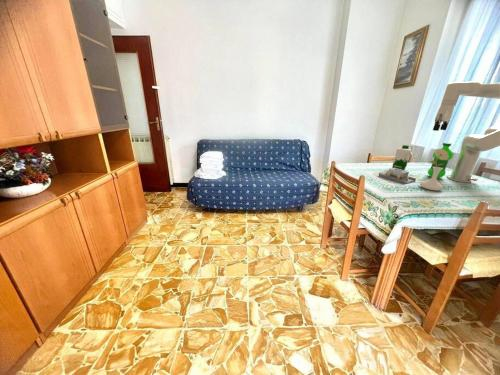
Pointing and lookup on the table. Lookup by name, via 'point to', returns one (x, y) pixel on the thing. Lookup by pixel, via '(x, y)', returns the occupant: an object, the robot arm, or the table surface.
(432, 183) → the flower in vase
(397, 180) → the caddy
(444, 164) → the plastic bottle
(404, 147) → the milk carton
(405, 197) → the table surface
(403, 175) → the block
